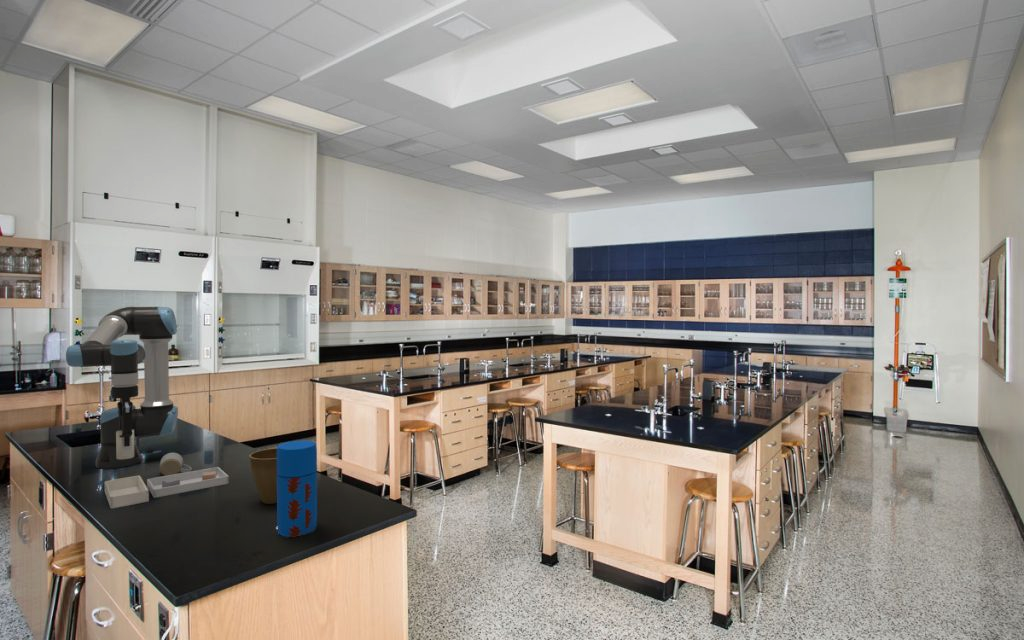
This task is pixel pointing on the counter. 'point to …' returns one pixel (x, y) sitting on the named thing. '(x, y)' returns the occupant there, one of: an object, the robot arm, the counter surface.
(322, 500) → the counter surface
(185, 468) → the ceramic mug
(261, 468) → the plant pot
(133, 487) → the bin
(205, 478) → the orange cube
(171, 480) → the gray cube
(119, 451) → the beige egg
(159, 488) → the tray
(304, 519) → the thermos
